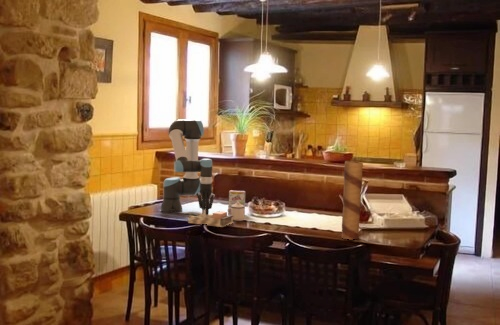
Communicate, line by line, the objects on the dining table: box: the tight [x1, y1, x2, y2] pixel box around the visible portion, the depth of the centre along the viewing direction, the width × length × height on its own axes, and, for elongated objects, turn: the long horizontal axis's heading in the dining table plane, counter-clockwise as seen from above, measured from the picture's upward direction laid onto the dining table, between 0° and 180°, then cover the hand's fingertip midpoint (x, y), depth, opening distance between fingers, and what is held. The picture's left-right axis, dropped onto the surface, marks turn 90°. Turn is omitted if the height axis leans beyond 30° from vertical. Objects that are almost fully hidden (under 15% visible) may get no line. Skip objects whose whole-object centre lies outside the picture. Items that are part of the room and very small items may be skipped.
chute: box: [187, 212, 234, 228], centre depth 366 cm, size 25×14×5 cm, turn 64°
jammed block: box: [212, 210, 228, 219], centre depth 363 cm, size 6×8×6 cm
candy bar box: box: [227, 189, 246, 216], centre depth 397 cm, size 11×5×16 cm, turn 84°
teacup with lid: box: [227, 202, 245, 222], centre depth 381 cm, size 12×9×12 cm
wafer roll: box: [341, 160, 364, 241], centre depth 331 cm, size 10×11×45 cm
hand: (205, 219), depth 368 cm, fingers closed
